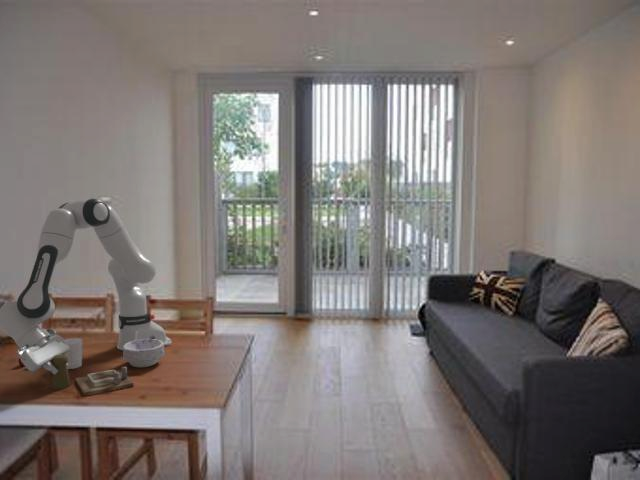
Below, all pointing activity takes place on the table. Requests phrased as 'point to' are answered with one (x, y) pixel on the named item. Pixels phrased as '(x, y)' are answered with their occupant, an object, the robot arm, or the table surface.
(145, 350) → the paper bowls
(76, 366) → the white cup
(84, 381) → the peg board
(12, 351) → the table surface
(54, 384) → the olive brown peg
